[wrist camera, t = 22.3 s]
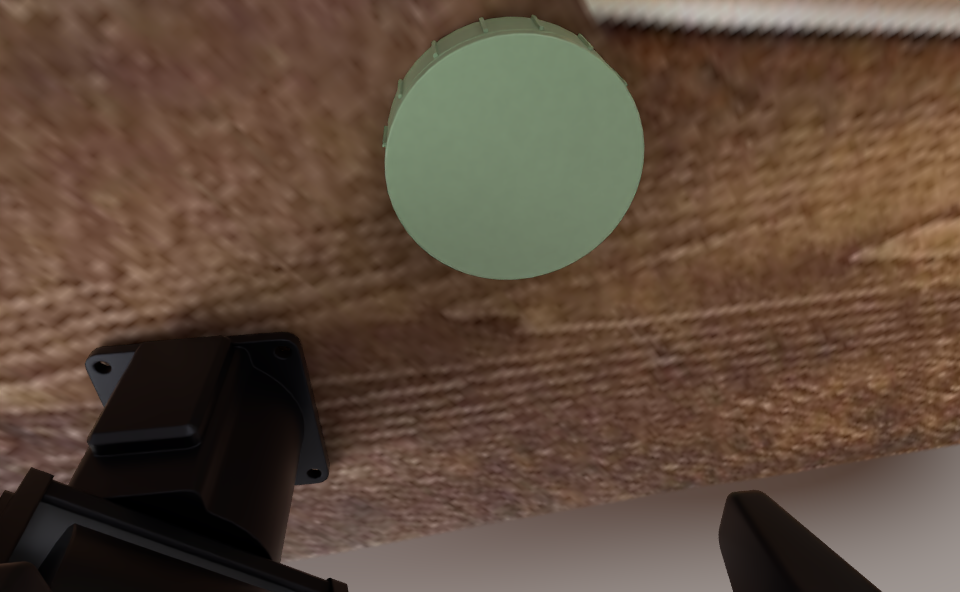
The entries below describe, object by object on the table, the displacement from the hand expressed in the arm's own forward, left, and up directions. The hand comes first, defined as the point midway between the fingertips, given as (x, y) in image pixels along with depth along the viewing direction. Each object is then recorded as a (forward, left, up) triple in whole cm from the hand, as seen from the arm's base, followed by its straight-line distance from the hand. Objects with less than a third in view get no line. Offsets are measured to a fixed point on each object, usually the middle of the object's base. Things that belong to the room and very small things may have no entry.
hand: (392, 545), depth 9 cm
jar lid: (+1, -3, -10) cm, 11 cm away
